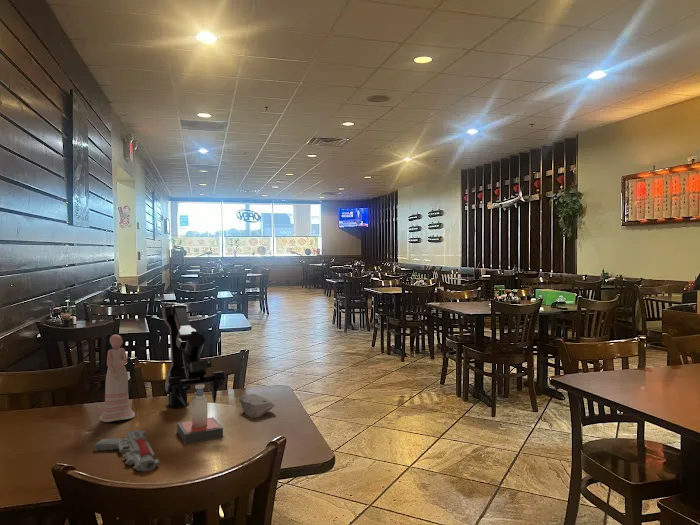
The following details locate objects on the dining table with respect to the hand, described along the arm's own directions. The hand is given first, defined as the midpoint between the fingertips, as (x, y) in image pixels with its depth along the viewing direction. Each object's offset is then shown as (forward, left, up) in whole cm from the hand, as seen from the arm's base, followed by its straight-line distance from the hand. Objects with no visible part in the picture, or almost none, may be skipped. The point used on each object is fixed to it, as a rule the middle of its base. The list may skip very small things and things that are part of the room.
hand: (200, 404), depth 169 cm
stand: (-1, +1, -11) cm, 11 cm away
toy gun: (-8, -23, -11) cm, 27 cm away
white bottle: (-1, +1, -7) cm, 8 cm away
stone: (+2, +27, -11) cm, 30 cm away
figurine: (-39, 0, -11) cm, 41 cm away
